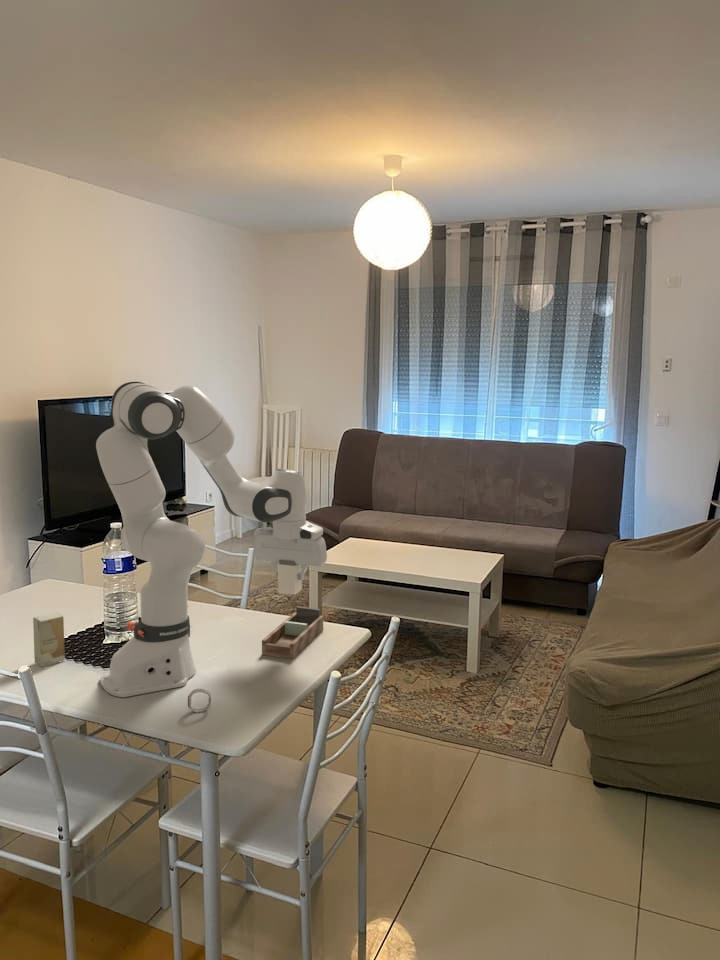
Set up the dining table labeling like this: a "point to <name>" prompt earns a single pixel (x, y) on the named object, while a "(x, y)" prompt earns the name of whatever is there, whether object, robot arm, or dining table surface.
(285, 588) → the cream rectangular box
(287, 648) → the pusher lane
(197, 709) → the grey ring
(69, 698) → the dining table surface
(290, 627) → the plate
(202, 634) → the dining table surface
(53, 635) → the skincare box
